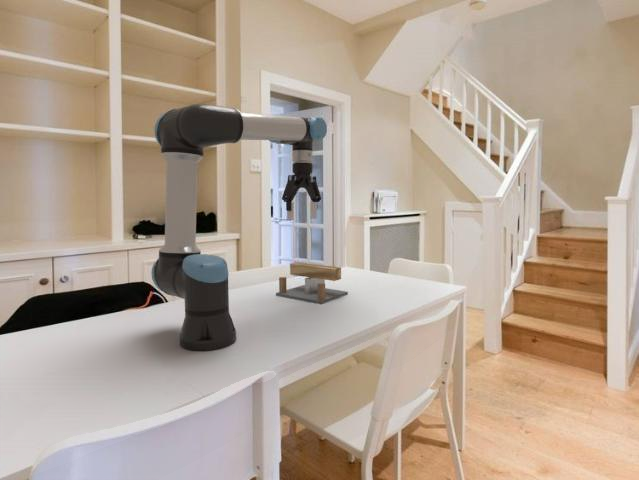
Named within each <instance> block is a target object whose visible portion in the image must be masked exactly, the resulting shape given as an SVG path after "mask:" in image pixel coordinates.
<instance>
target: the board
mask: <svg viewBox="0 0 639 480" xmlns="http://www.w3.org/2000/svg"><path fill="white" fill-rule="evenodd" d="M278 284H279V285H278V286H279V287H278V289H279V290H278V292H276V293H275V296H277V297H280V298H281V297H282V298H286V299H293V300H298V301H303V302H307V303H313V304H319V305H322V304H325V303H328V302H330V301H333V300H336V299H339V298H341V297H344V296H347V295H348V294H349V291H345V290H339V289H333V288H327V287H326V283H318V292H315V293H312V294H305V284H303V285H299V286H296V287H292V288H289V289H287V277H286V276H280V277H278Z"/></svg>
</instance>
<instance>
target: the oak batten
mask: <svg viewBox="0 0 639 480" xmlns="http://www.w3.org/2000/svg"><path fill="white" fill-rule="evenodd" d="M289 274H290V275H291V276H298V277H304V278H308V277H311V278H317V279H324V280H326V281H332V282H336V281H340V280H342V267H339V266H332V265H323V264H317V263H309V262H298V261H297V262H292V263H289Z"/></svg>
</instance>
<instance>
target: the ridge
mask: <svg viewBox="0 0 639 480" xmlns="http://www.w3.org/2000/svg"><path fill="white" fill-rule="evenodd" d="M318 283H325V280H324V279H317V278H311V277H304V285H305V294H312V293H315V292H318ZM325 284H326V283H325Z"/></svg>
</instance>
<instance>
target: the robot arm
mask: <svg viewBox="0 0 639 480" xmlns="http://www.w3.org/2000/svg"><path fill="white" fill-rule="evenodd" d="M327 125H328V124H327V122H326V120H325V119H324V118H323V117H322V116H312V117H302V116H301V117H299V116H291V115H290V116H288V115H279V114H267V113H266V114H264V113H251V112H243V111H240V110H239V109H238V108H235V107H227V106H222V105H221V106H220V105H214V104H213V105H212V104H204V103H196V104H190V105H187V106H183V107H178V108H173V109H169V110H167V111H166V112H164V113H162V114H160V116H159V117H158V118H157V120H156V123H155V125H154V137H155V140H156V142H157V143H158V144H159V146H160V152H161V153H160V155H161V156H162V157H163V159H164V160H165V161H166V167H165V169H166V171H165V172H166V174H165V176H166V178H165V216H164V218H165V222H164V223H165V224H164V244H163V245H162V247H160V248H159V250H158V258H157V259H156V261H155V262H153V265H152V267H151V279H152V282H153V284H154V285H155V287H156V288H157V289H158V290H159V291H161V292H163V293H164V294H166V295H168V296H172V297H177V298H179V299H183V300H184V319H183V322H182V326H181V330H180V333H179V346H180V347H181V348H183V349H185V350H189V351H211V350H212V351H213V350H217V349H222V348H225V347H228V346H230V345H232V344H233V343H235V342H236V341H237V331H236V330H237V329H236V328H235V325H234V321H233V319H232V317H231V314H230V305H229V303H230V302H229V301H230V300H229V299H230V297H229V269H228V263H227V261H226V259H224V257H221V256H218V255H215V254H206V253H202V254H201V252H202V251H201V249H200V248H199V247H198V246H197V245H196V244H197V243H196V239H197V235H196V234H197V204H198V203H197V201H198V200H197V199H198V198H197V197H198V193H197V192H198V166H199V165H198V164H199V162H201V161H202V160H203V159H204V148H209V147H213V146H218V145H223V144H237V143H238V142H240V141H269V142H270V143H274V144H277V145H278V144H279V145H287V146H288V145H289V146H292V150H291V151H292V162H293V163H292V173H293V174H288V175H287V182H286V185H285V187H284V191H283V194H282V197H281V200H282V201H283V202H284V203H285V207H286V208H285V209H286V221H295V215H294V213H295V211H294V210H295V202H293V201H294V199H295V197H296V195H297V193H298V191H299V190H300V189H305V190H306V192H307V195H308V197H309V198H310V200H311V201H310V208H309V209H310V210H309V211H310V213H309V214H310V219H313V220H317V219H318V203H320V202H321V201H322V196H321V193H320V190H319V186H318V182H317V176H315V175H313V176H311V174H313V167H314V166H313V163H312V162H313V142H314V141H315V142H316V141H320V140H323V139H324V138H325V137H327V136H326V135H327V132H328V129H327V127H328V126H327Z"/></svg>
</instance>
